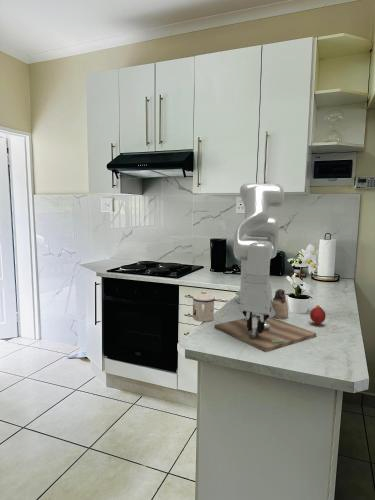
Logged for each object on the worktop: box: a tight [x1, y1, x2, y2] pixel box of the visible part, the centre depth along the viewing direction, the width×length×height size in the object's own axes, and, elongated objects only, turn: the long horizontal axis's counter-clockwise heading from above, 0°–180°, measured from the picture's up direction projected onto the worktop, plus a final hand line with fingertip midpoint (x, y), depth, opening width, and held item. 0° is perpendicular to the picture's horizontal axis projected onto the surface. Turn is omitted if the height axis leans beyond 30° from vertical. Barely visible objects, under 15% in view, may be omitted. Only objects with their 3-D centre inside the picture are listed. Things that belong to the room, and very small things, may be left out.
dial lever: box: [249, 313, 270, 339], centre depth 120 cm, size 15×4×7 cm, turn 147°
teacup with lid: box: [192, 290, 216, 323], centre depth 137 cm, size 12×9×12 cm
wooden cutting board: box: [214, 317, 317, 353], centre depth 125 cm, size 26×26×1 cm
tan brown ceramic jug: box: [272, 288, 289, 320], centre depth 144 cm, size 7×7×12 cm
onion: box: [309, 304, 327, 325], centre depth 135 cm, size 6×6×8 cm
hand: (255, 330), depth 118 cm, fingers closed on dial lever, 3 cm apart
